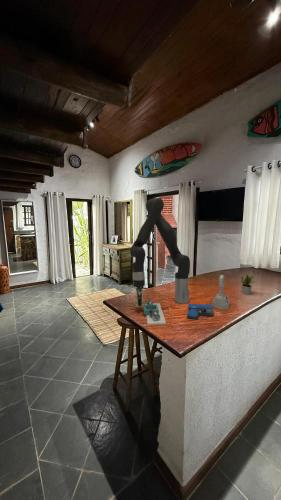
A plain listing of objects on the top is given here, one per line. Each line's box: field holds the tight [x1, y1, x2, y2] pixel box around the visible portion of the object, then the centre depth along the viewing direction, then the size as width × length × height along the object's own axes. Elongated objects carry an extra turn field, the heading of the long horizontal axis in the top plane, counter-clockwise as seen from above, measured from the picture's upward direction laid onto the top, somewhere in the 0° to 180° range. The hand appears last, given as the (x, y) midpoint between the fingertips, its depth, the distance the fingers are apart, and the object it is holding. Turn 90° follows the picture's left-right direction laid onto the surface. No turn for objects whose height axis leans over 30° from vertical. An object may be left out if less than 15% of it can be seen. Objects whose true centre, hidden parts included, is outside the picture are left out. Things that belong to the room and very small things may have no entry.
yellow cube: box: [134, 295, 145, 308], centre depth 133 cm, size 5×5×5 cm
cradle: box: [143, 304, 159, 316], centre depth 129 cm, size 8×8×3 cm
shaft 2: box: [149, 309, 160, 321], centre depth 121 cm, size 8×4×4 cm, turn 22°
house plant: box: [239, 272, 257, 296], centre depth 158 cm, size 14×14×16 cm
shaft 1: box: [146, 298, 154, 305], centre depth 137 cm, size 8×4×4 cm, turn 2°
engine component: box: [212, 274, 230, 310], centre depth 137 cm, size 11×20×10 cm
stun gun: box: [186, 303, 215, 321], centre depth 126 cm, size 4×16×15 cm
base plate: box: [144, 302, 167, 326], centre depth 129 cm, size 10×28×1 cm, turn 2°
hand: (139, 304), depth 133 cm, fingers closed on yellow cube, 5 cm apart
